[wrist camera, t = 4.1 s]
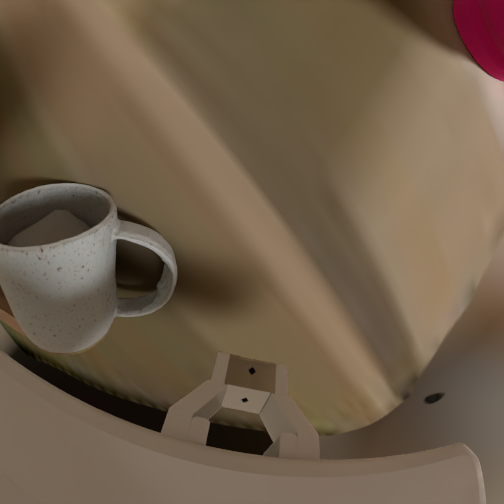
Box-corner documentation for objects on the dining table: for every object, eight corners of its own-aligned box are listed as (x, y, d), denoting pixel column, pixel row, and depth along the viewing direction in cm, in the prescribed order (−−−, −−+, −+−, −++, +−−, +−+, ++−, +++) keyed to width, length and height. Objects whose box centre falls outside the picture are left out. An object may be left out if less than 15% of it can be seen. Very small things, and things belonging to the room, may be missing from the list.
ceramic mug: (58, 277, 18) (2, 340, 11) (47, 176, 14) (-39, 223, 7) (178, 315, 18) (142, 410, 11) (190, 202, 14) (123, 284, 7)
